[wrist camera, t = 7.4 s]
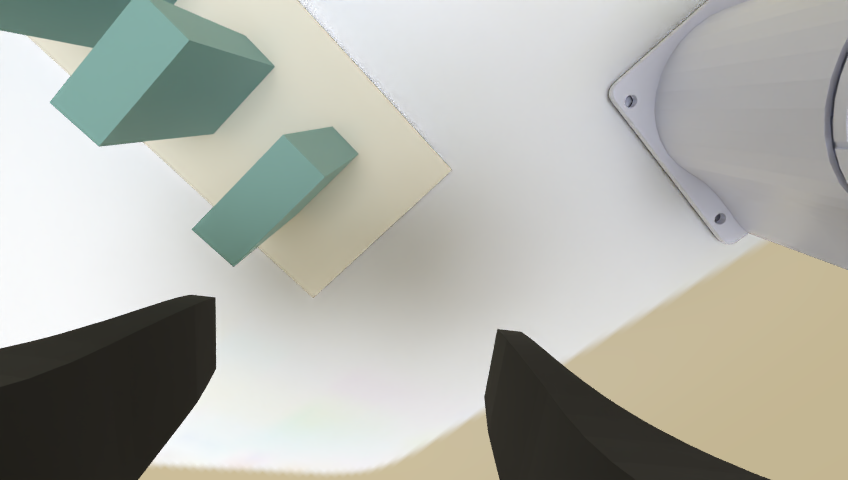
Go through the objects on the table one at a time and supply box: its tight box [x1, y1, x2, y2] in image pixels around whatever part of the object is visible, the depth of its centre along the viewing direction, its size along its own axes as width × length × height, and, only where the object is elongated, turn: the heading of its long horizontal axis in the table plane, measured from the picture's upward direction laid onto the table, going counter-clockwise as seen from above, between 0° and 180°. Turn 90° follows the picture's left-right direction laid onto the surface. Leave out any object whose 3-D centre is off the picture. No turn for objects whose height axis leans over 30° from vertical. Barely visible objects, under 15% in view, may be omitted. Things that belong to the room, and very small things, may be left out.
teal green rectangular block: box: [192, 126, 358, 267], centre depth 16 cm, size 2×4×7 cm, turn 133°
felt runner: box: [27, 0, 452, 298], centre depth 18 cm, size 26×9×1 cm, turn 43°
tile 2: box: [50, 0, 275, 146], centre depth 15 cm, size 2×4×7 cm, turn 133°
